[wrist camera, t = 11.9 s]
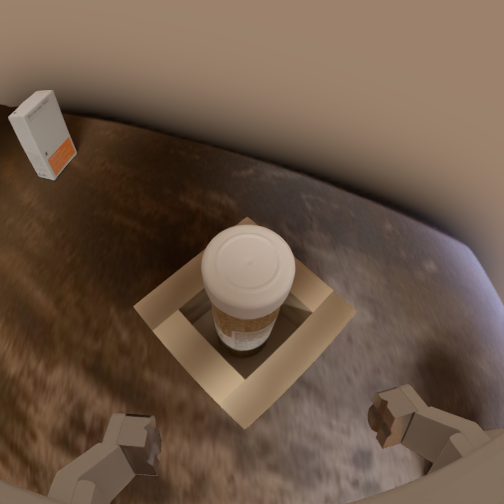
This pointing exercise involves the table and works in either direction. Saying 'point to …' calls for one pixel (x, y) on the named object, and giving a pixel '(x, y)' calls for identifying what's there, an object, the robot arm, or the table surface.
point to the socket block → (251, 368)
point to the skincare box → (43, 134)
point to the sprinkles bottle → (246, 285)
